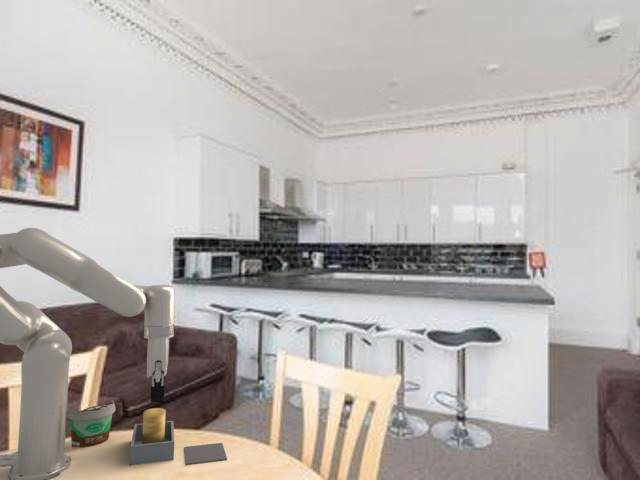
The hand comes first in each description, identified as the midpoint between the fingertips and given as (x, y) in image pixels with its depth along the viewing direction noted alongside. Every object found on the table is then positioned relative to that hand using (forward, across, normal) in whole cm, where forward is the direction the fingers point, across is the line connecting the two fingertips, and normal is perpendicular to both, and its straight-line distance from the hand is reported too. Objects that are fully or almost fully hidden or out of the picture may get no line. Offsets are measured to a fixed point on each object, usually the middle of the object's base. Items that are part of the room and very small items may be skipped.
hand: (157, 395), depth 115 cm
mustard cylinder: (+14, 0, -1) cm, 14 cm away
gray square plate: (+15, +6, +12) cm, 20 cm away
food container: (+14, -9, -16) cm, 23 cm away
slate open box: (+15, 0, -1) cm, 15 cm away
